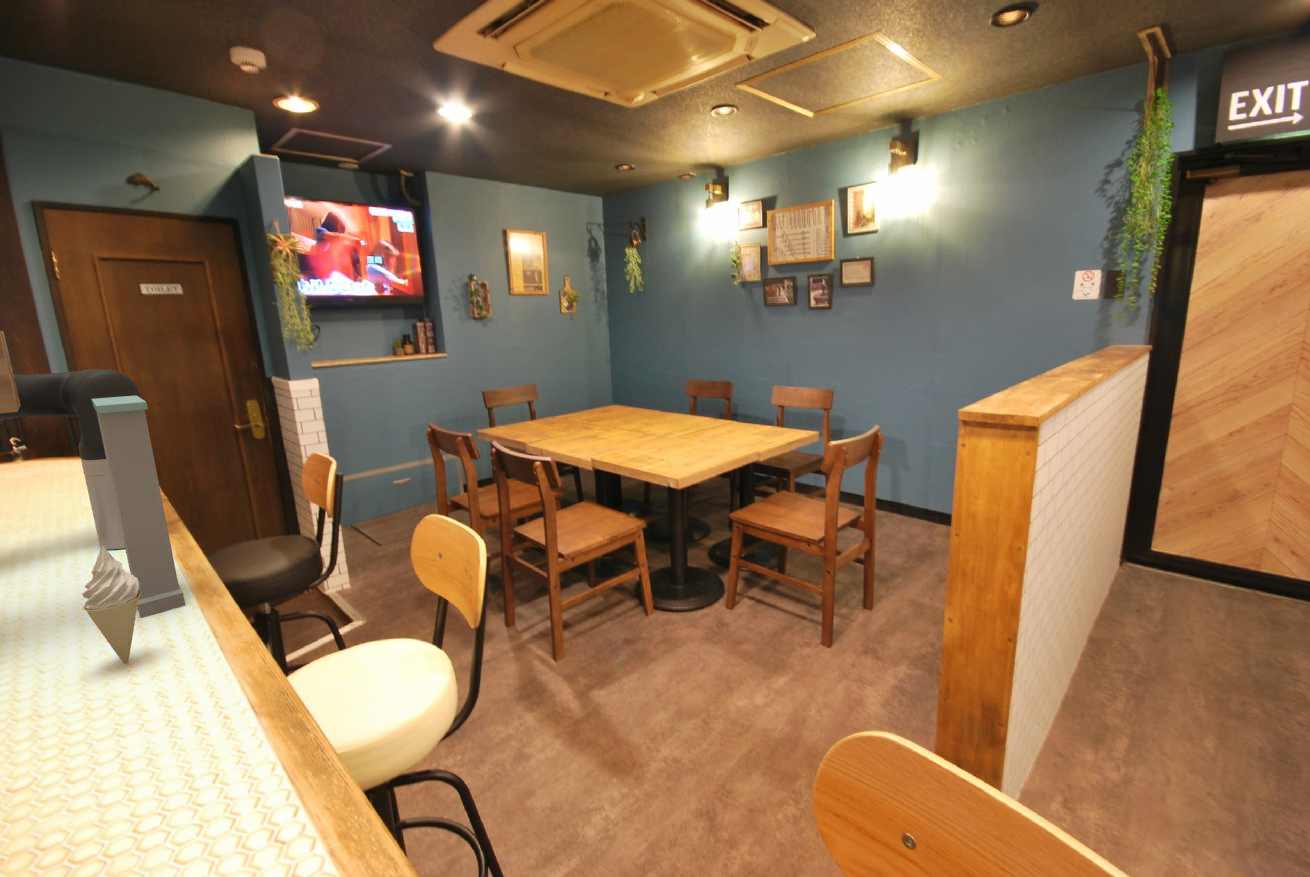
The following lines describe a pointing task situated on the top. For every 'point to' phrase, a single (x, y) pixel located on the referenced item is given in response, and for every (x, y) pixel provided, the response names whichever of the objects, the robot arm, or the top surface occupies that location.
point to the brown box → (7, 381)
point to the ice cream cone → (113, 602)
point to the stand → (139, 502)
